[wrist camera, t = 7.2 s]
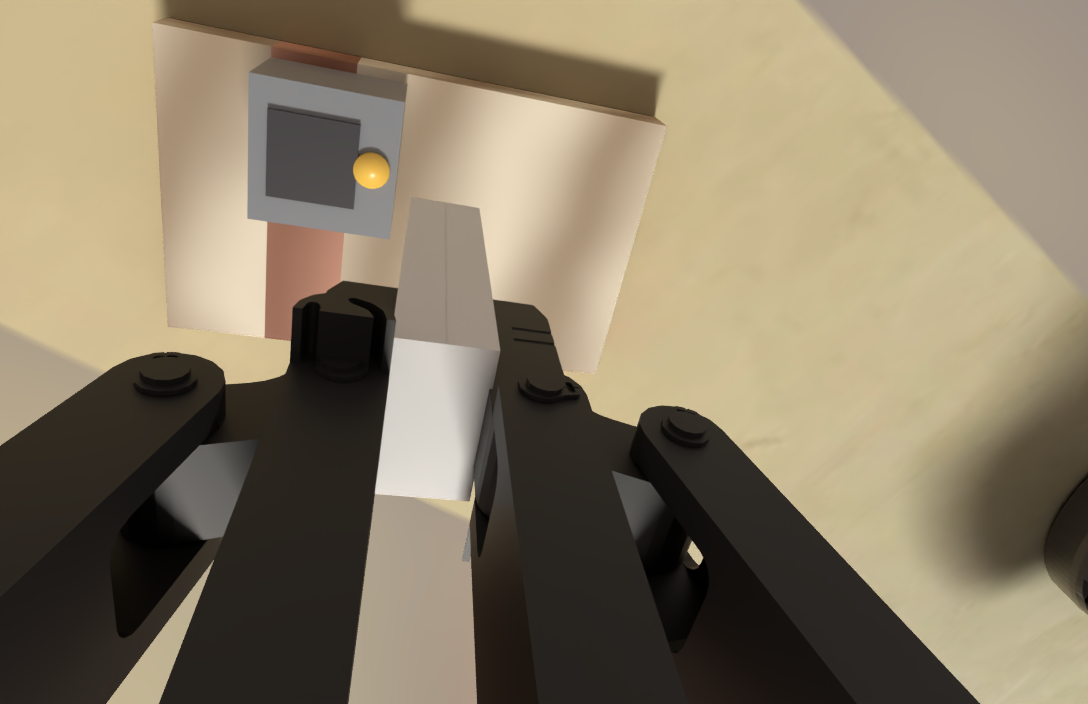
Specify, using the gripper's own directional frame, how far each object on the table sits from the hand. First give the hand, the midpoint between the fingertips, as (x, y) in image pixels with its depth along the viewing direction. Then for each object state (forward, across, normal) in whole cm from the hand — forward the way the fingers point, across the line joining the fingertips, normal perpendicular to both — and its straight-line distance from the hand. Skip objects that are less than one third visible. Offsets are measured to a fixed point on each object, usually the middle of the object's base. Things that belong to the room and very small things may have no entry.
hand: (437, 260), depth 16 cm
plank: (+10, +1, +2) cm, 10 cm away
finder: (+8, +3, 0) cm, 9 cm away
